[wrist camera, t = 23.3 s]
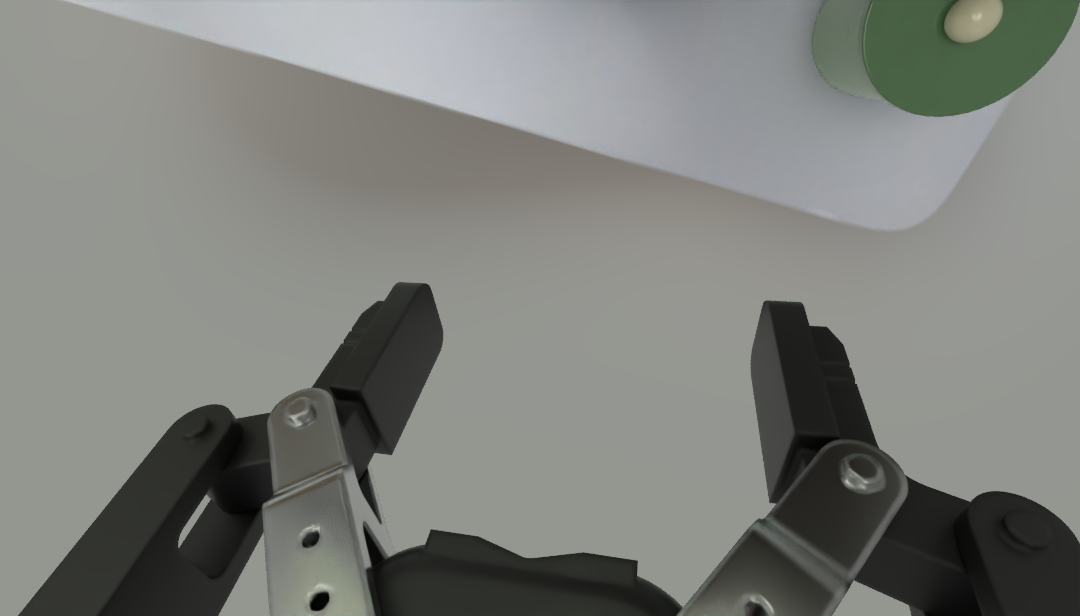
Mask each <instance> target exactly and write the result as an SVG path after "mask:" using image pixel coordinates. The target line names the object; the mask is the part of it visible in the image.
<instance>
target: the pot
mask: <svg viewBox="0 0 1080 616" xmlns="http://www.w3.org/2000/svg"><path fill="white" fill-rule="evenodd" d="M1079 3H1080V0H826V1H825V2H824V4H823V6H822V8H821V10H820V12H819V14H818V16H817V19H816V22H815V26H814V30H813V37H812V52H813V57H814V61H815V64H816V67H817V69H818V71H819V73H820V74H821V75H822V77H823V78H824V79H825V80H826V81H827V82H828V83H829V84H830V85H831V86H832V87H834V88H835V89H837V90H839V91H841V92H843V93H847V94H850V95H854V96H859V97H864V98H869V99H873V100H878V101H883V102H887V103H888V104H890V105H891V106H893V107H895V108H898V109H900V110H902V111H906V112H909V113H912V114H917V115H923V116H934V117H943V116H954V115H959V114H964V113H968V112H971V111H974V110H978V109H981V108H983V107H985V106H988V105H990V104H992V103H994V102H996V101H998V100H1000V99H1002V98H1004V97H1005V96H1007V95H1009V94H1010V93H1012V92H1013V91H1015V90H1016V89H1018V88H1019V87H1021V86H1022V85H1023V84H1024V83H1025V82H1027V81H1028V80H1029V79H1030V78H1031V77H1033V76H1034V75H1035V74H1036V73H1037V72H1038V71H1039V70H1040V69H1041V68H1042V67H1043V66H1044V65H1045V64H1046V63H1047V61H1048V60H1049V59H1050V58H1051V57H1052V56H1053V54H1054V53H1055V52H1056V50H1057V48H1058V47H1059V46H1060V44H1061V43H1062V42H1063V40H1064V38H1065V36H1066V34H1067V33H1068V31H1069V29H1070V27H1071V25H1072V23H1073V20H1074V18H1075V16H1076V13H1077V10H1078V6H1079Z"/></svg>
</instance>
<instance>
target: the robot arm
mask: <svg viewBox="0 0 1080 616" xmlns="http://www.w3.org/2000/svg"><path fill="white" fill-rule="evenodd" d="M442 343H443V329H442V325H441V321H440V318H439V314H438V311H437V308H436V304H435V301H434V298H433V294H432V291H431V288H430V286H429V285H428V284H424V283H404V282H399V283H397V284H395V286H394V287H393V288H392V290H391V292H390V293H389V295H388V296H387V298H386V299H385V301H377V302H376V303H375V304H373V305H372V306H371V307H370V308H369V309H367V310H366V311H364V312H363V313H362V314H361V316H360V317H359V319H358V320H357V322H356V323H355V325H354V326H353V327H352V331H351V332H349V333H348V335H347V336H346V338H345V339H344V343H343V344H341V345H340V347H339V348H338V350H337V351H336V353H335V354H334V355H333V357H332V359H331V360H330V361H329V363H328V364H327V366H326V367H325V369H324V370H323V372H322V373H321V375H320V376H319V378H318V379H317V381H316V382H315V384H314V385H313V387H312V388H308V389H303V390H300V391H297V392H295V393H292V394H291V395H289V396H287V397H286V398H284V399H283V400H281V401H280V402H279V403H278V404H277V405H276V406H275V408H274V409H273V410H272V412H271V413H266V414H260V415H255V416H249V417H244V418H238V419H236V418H235V417H234V415H233V414H232V413H231V411H230V410H229V409H228V408H227V407H225V406H223V405H217V404H215V405H206V406H203V407H200V408H197V409H194V410H192V411H191V412H188V413H187V414H185V415H184V416H183V417H181V418H180V419H178V420H177V421H176V422H175V423H174V424H173V425H172V426H171V427H170V428H169V429H168V431H167V432H166V433H165V434H164V435H163V437H162V438H161V439H160V440H159V442H158V443H157V444H156V446H155V447H154V448H153V449H152V450H151V452H150V453H149V454H148V456H147V457H146V458H145V459H144V460H143V462H142V463H141V464H140V465H139V466H138V468H137V469H136V470H135V471H134V473H133V474H132V475H131V476H130V478H129V479H128V480H127V482H126V483H125V484H124V485H123V486H122V488H121V489H120V490H119V491H118V493H117V494H116V495H115V496H114V498H113V499H112V500H111V501H110V503H109V504H108V505H107V506H106V507H105V509H104V510H103V511H102V513H101V514H100V515H99V516H98V517H97V519H96V520H95V521H94V522H93V523H92V525H91V526H90V527H89V528H88V530H87V531H86V532H85V533H84V535H83V536H82V537H81V539H80V540H79V541H78V542H77V543H76V545H75V546H74V547H73V548H72V550H71V551H70V552H69V553H68V555H67V556H66V557H65V558H64V560H63V561H62V562H61V563H60V564H59V566H58V567H57V568H56V569H55V571H54V572H53V573H52V575H51V576H50V577H49V578H48V579H47V581H46V582H45V583H44V584H43V586H42V587H41V588H40V589H39V590H38V592H37V593H36V594H35V595H34V597H33V598H32V599H31V600H30V602H29V603H28V604H27V605H26V607H25V608H24V609H23V611H22V612H21V613H20V614H19V615H18V616H218V615H219V613H220V611H221V609H222V607H223V606H224V604H225V602H226V600H227V598H228V597H229V595H230V593H231V591H232V589H233V587H234V585H235V584H236V582H237V580H238V578H239V576H240V574H241V573H242V570H243V569H244V567H245V565H246V563H247V562H248V560H249V558H250V556H251V554H252V552H253V550H254V549H255V547H256V545H257V543H258V541H259V540H260V538H261V536H262V534H263V532H264V544H265V558H266V571H267V585H268V600H269V614H270V616H832V615H833V613H834V612H835V610H836V608H837V607H838V605H839V604H840V602H841V601H842V599H843V597H844V596H845V594H846V592H847V591H848V589H849V588H850V585H851V584H852V582H853V580H855V581H857V582H859V583H861V584H863V585H866V586H868V587H870V588H872V589H874V590H877V591H879V592H881V593H883V594H886V595H888V596H890V597H892V598H894V599H897V600H899V601H901V602H904V603H906V604H908V605H909V607H910V611H911V615H912V616H1080V543H1079V542H1078V540H1077V538H1076V537H1075V535H1074V534H1073V532H1072V531H1071V530H1070V529H1069V527H1068V526H1067V525H1066V524H1065V523H1064V522H1063V521H1062V520H1061V519H1059V518H1058V517H1057V516H1056V515H1055V514H1053V513H1052V512H1050V511H1049V510H1048V509H1046V508H1045V507H1043V506H1041V505H1040V504H1038V503H1036V502H1034V501H1032V500H1030V499H1027V498H1025V497H1022V496H1019V495H1016V494H1012V493H1008V492H999V491H992V492H986V493H982V494H980V495H978V496H976V497H975V498H974V499H973V500H972V501H971V502H969V501H966V500H963V499H960V498H958V497H955V496H952V495H950V494H947V493H944V492H941V491H938V490H936V489H933V488H930V487H927V486H925V485H923V484H920V483H918V482H916V481H914V480H912V479H910V478H909V477H907V476H906V475H905V474H904V472H903V470H902V469H901V468H900V466H899V465H898V464H897V463H896V462H895V461H894V459H893V458H891V457H890V456H889V455H888V454H886V453H885V452H883V451H882V450H880V449H879V447H878V445H877V443H876V440H875V437H874V434H873V431H872V428H871V425H870V422H869V419H868V416H867V413H866V410H865V407H864V404H863V401H862V399H861V396H860V393H859V390H858V387H857V384H855V378H854V375H853V372H852V369H851V368H850V367H849V365H850V364H849V360H848V357H847V355H846V351H845V348H844V346H843V344H842V343H841V342H840V341H839V340H838V338H836V336H835V335H834V334H833V333H832V332H831V331H830V330H829V329H828V328H827V327H819V326H809V323H808V319H807V316H806V312H805V309H804V305H803V304H802V303H801V302H785V301H765V302H764V303H763V306H762V310H761V314H760V318H759V322H758V327H757V331H756V335H755V339H754V343H753V348H752V354H751V378H752V385H753V392H754V398H755V406H756V412H757V420H758V427H759V433H760V440H761V447H762V454H763V461H764V468H765V475H766V482H767V489H768V496H769V502H770V503H776V505H775V507H774V508H773V509H772V510H771V511H770V513H769V514H768V515H767V516H766V517H765V518H764V519H758V520H756V521H755V522H754V523H753V524H752V525H751V526H750V527H749V528H748V529H747V531H746V532H745V533H744V534H743V536H742V537H741V538H740V539H739V540H738V542H737V543H736V544H735V545H734V546H733V548H732V549H731V550H730V551H729V553H728V554H727V555H726V556H725V557H724V558H723V560H722V561H721V562H720V563H719V565H718V566H717V567H716V568H715V569H714V571H713V572H712V573H711V574H710V576H709V577H708V578H707V579H706V580H705V582H704V583H703V584H702V585H701V587H700V588H699V589H698V590H697V591H696V593H695V594H694V595H693V596H692V597H691V599H690V600H689V601H688V602H687V603H686V605H685V606H684V607H682V606H681V605H680V604H679V603H678V602H677V601H676V600H675V599H674V598H672V597H671V596H670V595H668V594H667V593H666V592H664V591H663V590H662V589H661V588H659V587H657V586H656V585H654V584H652V583H651V582H649V581H647V580H645V579H643V578H640V577H638V576H637V563H638V561H636V560H629V559H622V558H616V557H609V556H603V555H596V554H589V553H576V554H566V555H558V556H549V557H541V558H524V557H521V556H519V555H517V554H515V553H513V552H511V551H509V550H506V549H504V548H502V547H500V546H498V545H495V544H493V543H491V542H489V541H487V540H485V539H482V538H480V537H478V536H471V535H464V534H458V533H451V532H444V531H438V530H431V531H430V534H429V537H428V539H427V542H426V544H425V545H420V546H416V547H413V548H409V549H406V550H403V551H401V552H398V553H396V551H395V549H394V546H393V544H392V541H391V539H390V536H389V533H388V530H387V526H386V522H385V518H384V515H383V511H382V507H381V504H380V500H379V496H378V493H377V489H376V485H375V481H374V478H373V474H372V470H371V468H370V466H369V462H370V460H371V458H372V456H373V454H374V453H380V454H389V455H392V453H393V451H394V449H395V447H396V445H397V443H398V440H399V438H400V436H401V434H402V432H403V429H404V428H405V426H406V423H407V421H408V419H409V417H410V415H411V413H412V410H413V408H414V406H415V404H416V402H417V400H418V398H419V396H420V393H421V391H422V389H423V387H424V385H425V383H426V380H427V378H428V376H429V374H430V372H431V370H432V368H433V366H434V364H435V361H436V359H437V357H438V355H439V353H440V351H441V347H442ZM206 494H207V495H208V496H209V497H210V498H211V500H210V502H209V503H208V505H207V506H206V508H205V509H204V511H203V513H202V514H201V515H200V517H199V518H198V520H197V522H196V523H195V525H194V526H193V528H192V529H191V531H190V533H189V534H188V535H187V537H186V539H185V540H184V541H183V543H182V545H181V546H180V548H179V549H178V540H179V536H180V533H181V532H182V530H183V528H184V526H185V525H186V523H187V522H188V520H189V519H190V517H191V516H192V514H193V513H194V511H195V510H196V508H197V507H198V505H199V504H200V502H201V501H202V499H203V498H204V496H205V495H206Z"/></svg>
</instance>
